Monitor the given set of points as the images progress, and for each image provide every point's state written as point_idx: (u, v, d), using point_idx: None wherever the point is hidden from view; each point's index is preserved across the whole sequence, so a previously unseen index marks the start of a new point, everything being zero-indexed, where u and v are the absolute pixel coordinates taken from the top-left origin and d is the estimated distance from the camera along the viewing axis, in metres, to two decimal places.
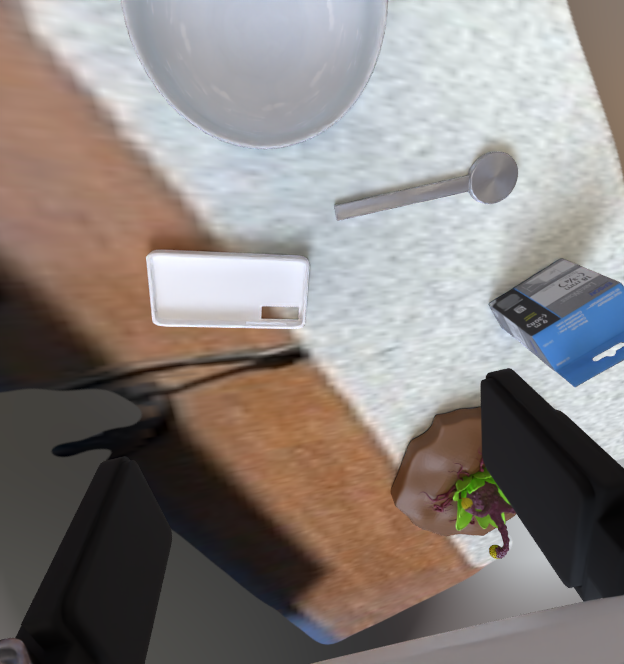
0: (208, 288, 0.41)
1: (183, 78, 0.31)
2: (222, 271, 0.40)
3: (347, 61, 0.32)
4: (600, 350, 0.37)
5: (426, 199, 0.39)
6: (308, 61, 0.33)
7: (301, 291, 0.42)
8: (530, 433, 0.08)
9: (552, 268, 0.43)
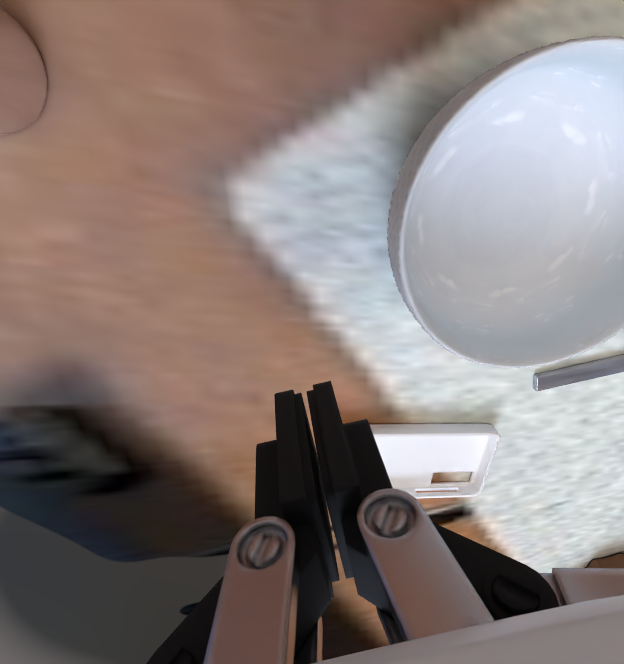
0: None
1: (415, 275, 0.26)
2: (398, 442, 0.35)
3: (605, 251, 0.27)
4: None
5: None
6: (549, 243, 0.28)
7: (480, 457, 0.37)
8: (315, 441, 0.10)
9: None
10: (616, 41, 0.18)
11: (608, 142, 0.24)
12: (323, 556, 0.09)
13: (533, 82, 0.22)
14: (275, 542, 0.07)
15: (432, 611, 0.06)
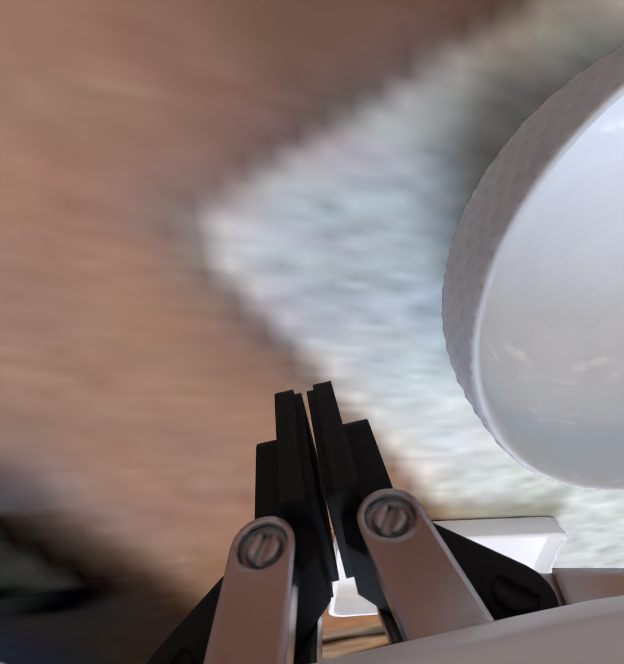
0: None
1: None
2: None
3: None
4: None
5: None
6: None
7: (536, 555, 0.29)
8: (315, 441, 0.10)
9: None
10: None
11: None
12: (323, 556, 0.09)
13: None
14: (275, 542, 0.07)
15: (432, 611, 0.06)
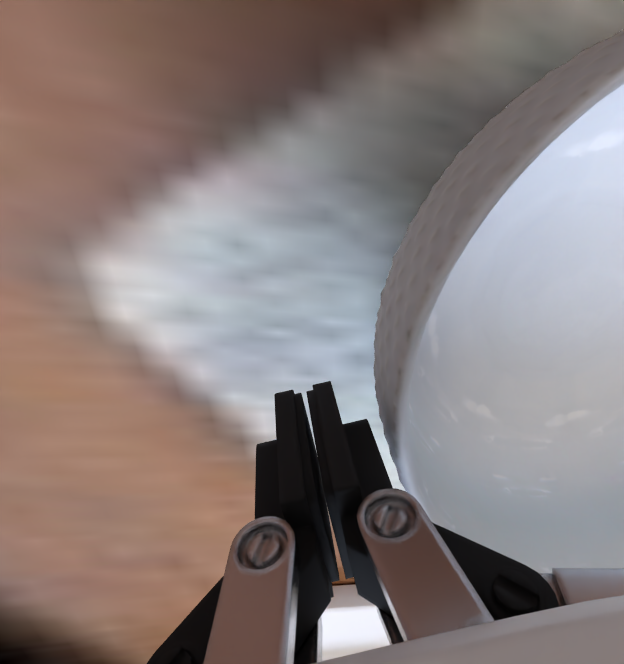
0: (367, 623, 0.25)
1: (425, 411, 0.15)
2: None
3: None
4: None
5: None
6: None
7: None
8: (315, 441, 0.10)
9: None
10: None
11: None
12: (323, 556, 0.09)
13: None
14: (275, 542, 0.07)
15: (432, 611, 0.06)
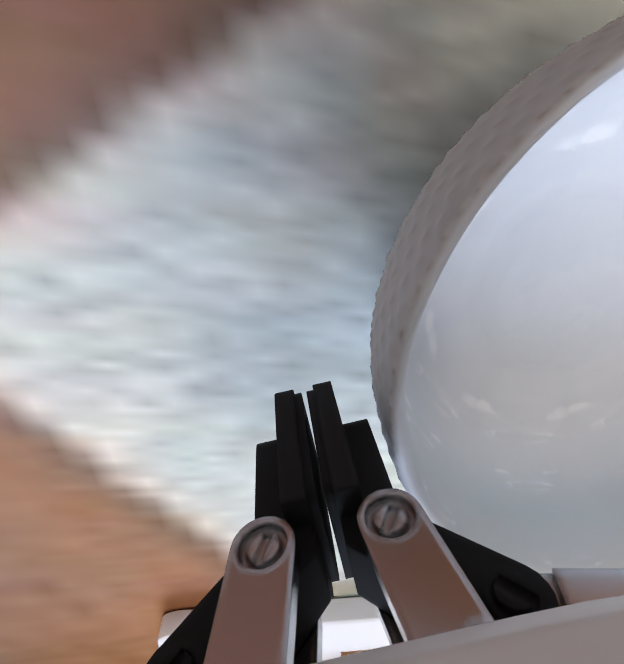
0: None
1: (425, 408, 0.15)
2: None
3: None
4: None
5: None
6: None
7: None
8: (315, 441, 0.10)
9: None
10: None
11: None
12: (323, 556, 0.09)
13: None
14: (275, 542, 0.07)
15: (432, 611, 0.06)
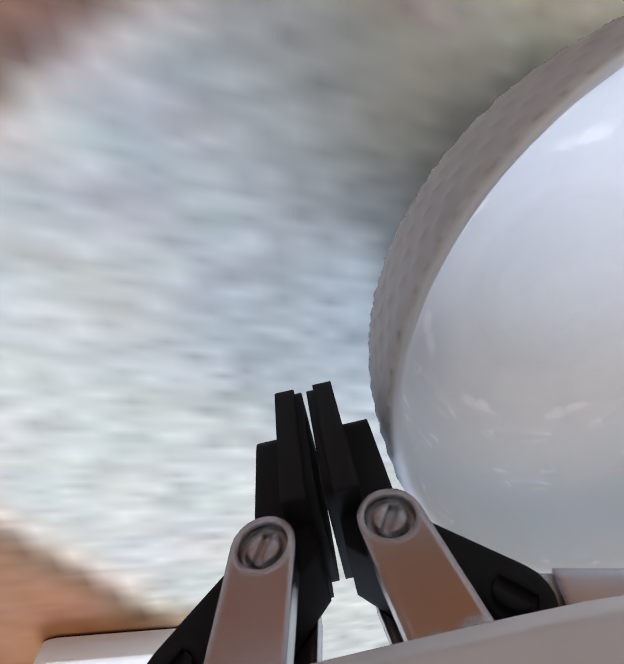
0: None
1: (423, 408, 0.15)
2: None
3: None
4: None
5: None
6: None
7: None
8: None
9: None
10: None
11: None
12: (323, 556, 0.09)
13: None
14: (275, 542, 0.07)
15: (432, 611, 0.06)
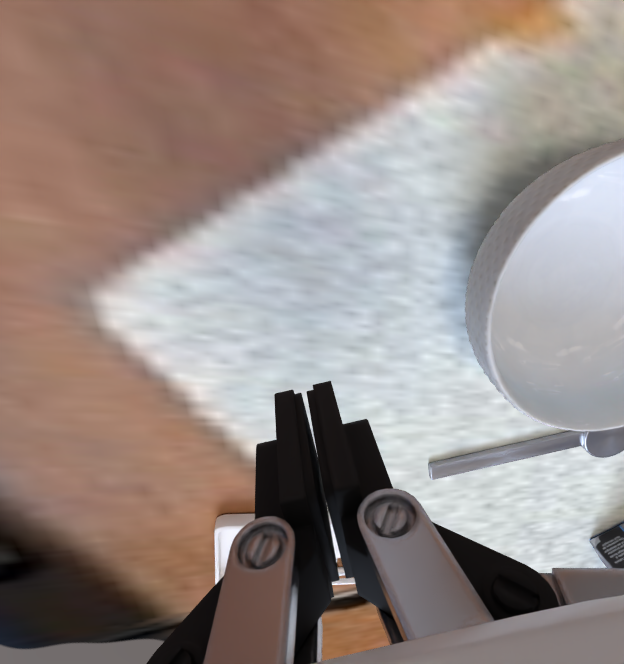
0: None
1: None
2: None
3: None
4: None
5: (533, 455, 0.34)
6: (614, 303, 0.28)
7: None
8: (315, 441, 0.10)
9: None
10: None
11: None
12: (323, 556, 0.09)
13: None
14: (275, 542, 0.07)
15: (432, 611, 0.06)
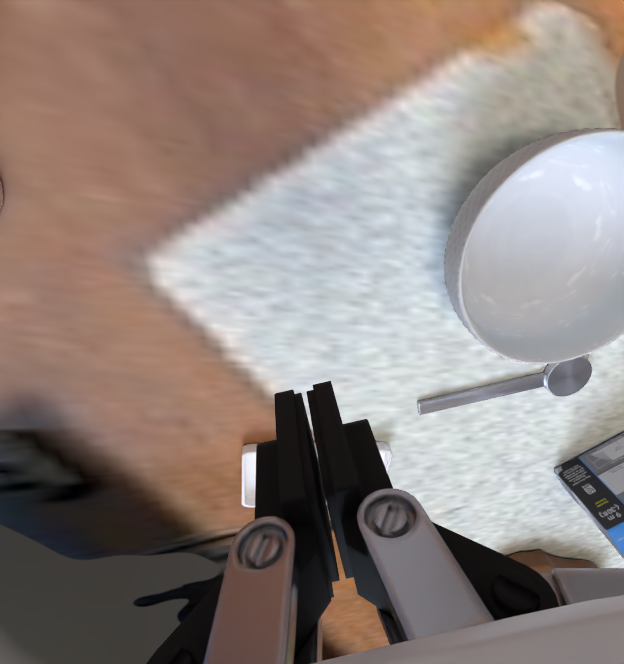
0: None
1: (463, 295, 0.34)
2: None
3: (611, 269, 0.34)
4: None
5: (504, 394, 0.41)
6: (566, 264, 0.35)
7: None
8: (315, 441, 0.10)
9: (617, 443, 0.45)
10: (611, 132, 0.25)
11: (609, 188, 0.31)
12: (323, 556, 0.09)
13: (550, 151, 0.29)
14: (275, 542, 0.07)
15: (432, 611, 0.06)
